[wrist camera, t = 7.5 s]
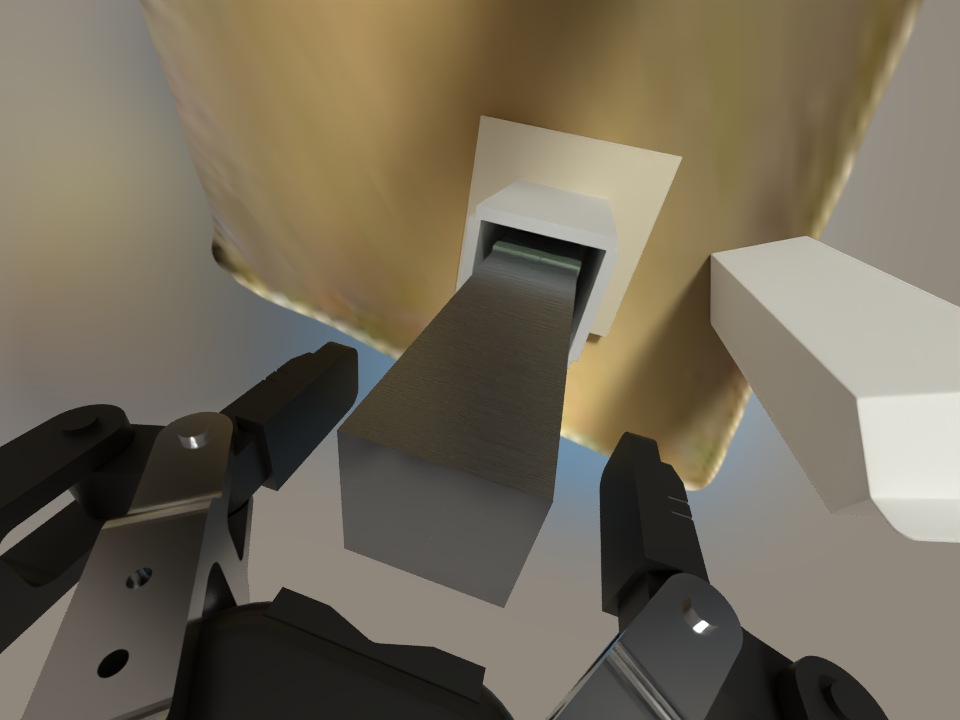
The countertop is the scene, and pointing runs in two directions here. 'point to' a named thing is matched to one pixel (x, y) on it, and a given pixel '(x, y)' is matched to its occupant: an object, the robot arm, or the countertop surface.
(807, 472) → the milk
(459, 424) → the steel post
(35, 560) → the robot arm
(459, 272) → the sleeve stand
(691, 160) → the countertop surface
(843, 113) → the countertop surface
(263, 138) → the countertop surface
